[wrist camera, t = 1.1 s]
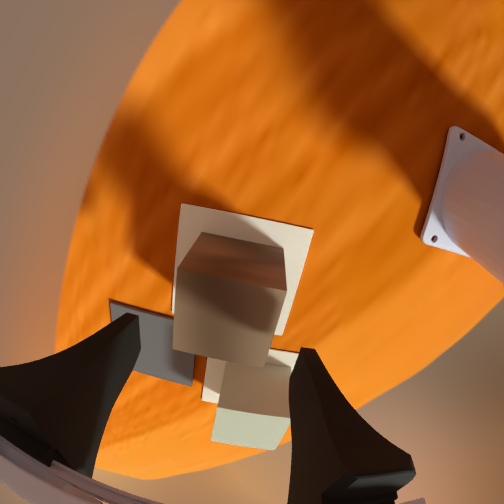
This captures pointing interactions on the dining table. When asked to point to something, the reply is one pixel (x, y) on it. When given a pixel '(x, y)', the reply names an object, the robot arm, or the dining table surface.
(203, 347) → the walnut block
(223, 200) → the dining table surface
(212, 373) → the card
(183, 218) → the card
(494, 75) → the dining table surface
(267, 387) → the sage block
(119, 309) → the coaster
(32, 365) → the robot arm
